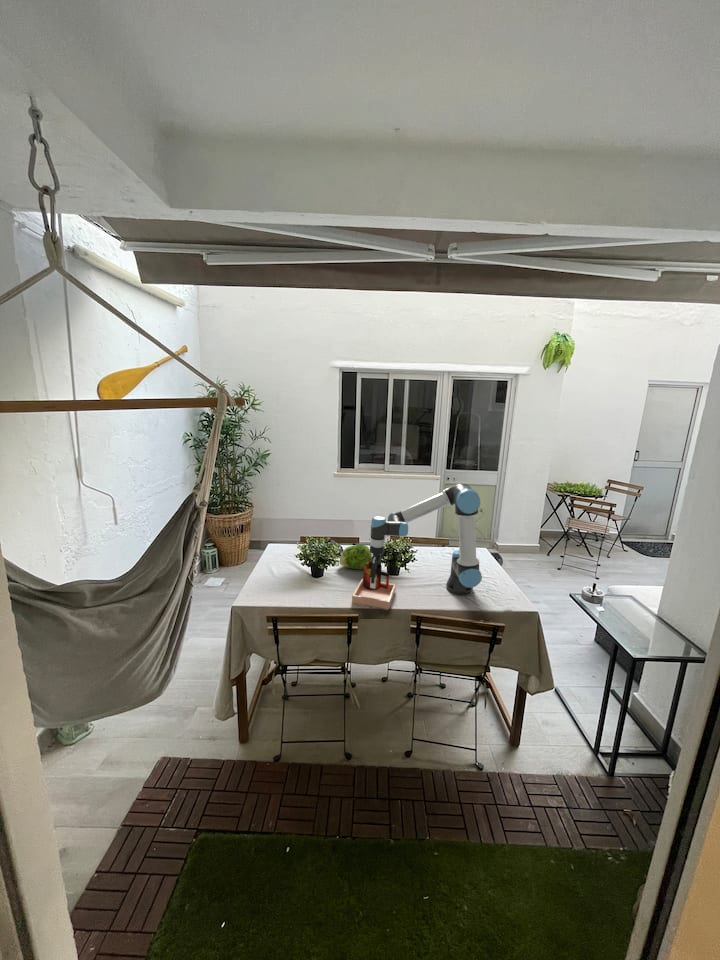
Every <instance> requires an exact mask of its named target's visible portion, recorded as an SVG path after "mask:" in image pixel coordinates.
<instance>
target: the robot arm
mask: <svg viewBox="0 0 720 960" xmlns="http://www.w3.org/2000/svg"><path fill="white" fill-rule="evenodd" d="M447 506H450V507H451V506H454V513H455V515H456V516H457V517H458V540H459V541H458V545H459V548H458V549H459V550H454V551H453V552H452V556H451V564H450V575H449V577H448V580H446V585H445V588H446V590H447V591H448V592H450V593H451V592H452V594H454V595H457V594H459V595H458V596H467V595H466V594H469V595H471V594H472V593H473V592H474V588H475V587H477V586H479V584H480V583H481V582H482V580H483V579H482V578H483V575H482V572H481V571H480V570H481V569H480V559H478V558H477V540H476V538H477V536H476V535H477V534H476V533H477V531H476V516H477V515H478V514H479V508H480V506H481V498H480V496H479V494H478V492H477V491H476V490H475V489H473V488H472V487H471V486H470V485H468V484H466V483H462V482H460V483H456V484H454V485H452V486H449V487H447V488H444V489H443V490H442V492H440V493H438V494H435V495H433V496H432V497H429V498H427V499H425V500H423V501H420V502H418V503H416V504H414V505H411V506H410V507H409V506H408V507H407V508H405V509H402V510H399V511H391V512H390V513H389V514H388V517H387V519H386V517H384V516H379V515H377V516H373V517H372V518H371V523H370V538H369V541H370V542H369V544H370V545H369V549H370V552H371V554H372V560H371V571H370V576H369V577H370V578H371V581H370V588H374V589H375V585H376V570H377V565H378V564H381V565H382V555H383V554H384V552H385V540H386V539H385V536H388V537H407V535H408V534H409V523H410V522H413V521H414V520H417V519H419V518H421V517H424V516H427V515H429V514H431V513H433V512H435V511H438V510H440V509H442V508H444V507H447ZM472 591H473V592H472ZM471 592H472V593H471ZM470 593H471V594H470Z"/></svg>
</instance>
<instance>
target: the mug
mask: <svg viewBox="0 0 720 960" xmlns="http://www.w3.org/2000/svg"><path fill="white" fill-rule="evenodd" d="M370 571H371V562H367V563H365V564H364V569H363V574H362V575H363V578H362V579H363V587H364V588H365V589H368V590H377V589H379V588H380V587H382V588H385V589H388V587H389V581H390V573H389V572H385V571H382V563H381V564H378V565H377V570H376V585H375V589H374V588H370V581H371V578H370V577H369V576H370ZM382 576H383V577H386V579H385V581H386V582H385V583H386V585H383V584H381V582H382V580H381V579H382Z"/></svg>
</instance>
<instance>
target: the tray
mask: <svg viewBox="0 0 720 960" xmlns="http://www.w3.org/2000/svg"><path fill="white" fill-rule="evenodd" d="M381 584H383V585H386V582H384V581H383V582H382V581H381ZM396 586H397V585H396V584H395V583H389V587H388V589H385V588H382V587H380V588H379V589H377V590H368V589H365V588H364V587H363V578H361V580H360V581H359V583H358V585H357V586H356V588H355V589H354V592H353V594H352V595H351V604H352V605H356V606H363V607H367V606H368V608H373V607H375V608H374V609H379V610H385V611H390V607H391V605H392V602H393V599H394V597H395V595H394V594H396V588H397V587H396Z"/></svg>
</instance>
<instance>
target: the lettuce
mask: <svg viewBox="0 0 720 960" xmlns="http://www.w3.org/2000/svg"><path fill="white" fill-rule="evenodd" d="M340 555H341V556H340ZM340 555H339V557H340V561H339V560H338V563H339V565H340V566H343V567H345V568H348V569H352V570H364V564H365V563H367V562H371V560H372V556H373V554H372V553H371V552H370V547H368V546H367V545H366V544H355V545H351V546H348V547H346V548H345V549H343V550H342V552H341V554H340Z"/></svg>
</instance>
